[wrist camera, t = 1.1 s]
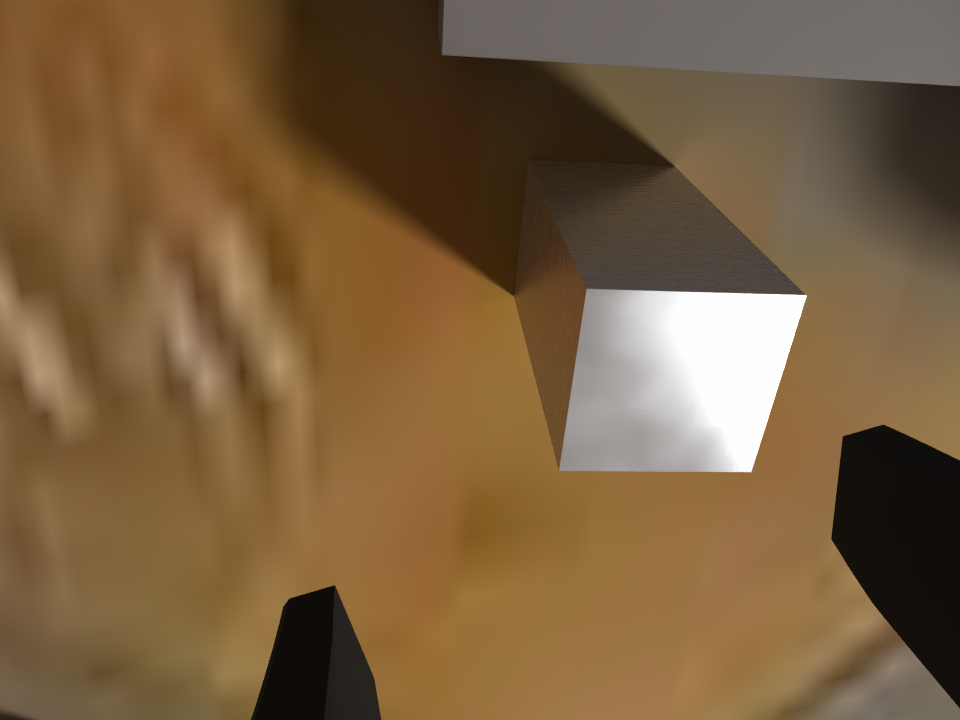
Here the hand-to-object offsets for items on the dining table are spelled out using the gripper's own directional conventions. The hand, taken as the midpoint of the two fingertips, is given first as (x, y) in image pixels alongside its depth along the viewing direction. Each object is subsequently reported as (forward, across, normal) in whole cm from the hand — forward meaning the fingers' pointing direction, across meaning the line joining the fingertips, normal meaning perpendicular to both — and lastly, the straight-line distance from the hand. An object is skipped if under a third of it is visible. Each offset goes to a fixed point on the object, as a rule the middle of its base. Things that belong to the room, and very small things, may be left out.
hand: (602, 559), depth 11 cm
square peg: (+12, -4, +1) cm, 13 cm away
